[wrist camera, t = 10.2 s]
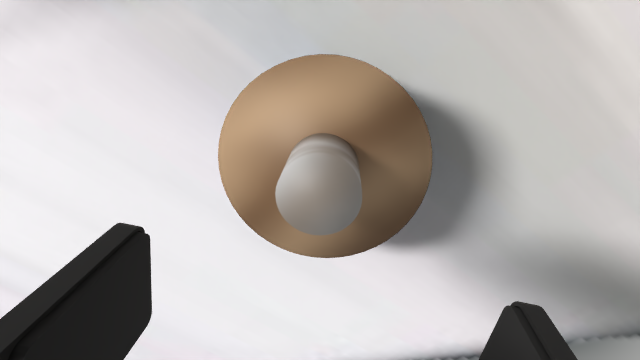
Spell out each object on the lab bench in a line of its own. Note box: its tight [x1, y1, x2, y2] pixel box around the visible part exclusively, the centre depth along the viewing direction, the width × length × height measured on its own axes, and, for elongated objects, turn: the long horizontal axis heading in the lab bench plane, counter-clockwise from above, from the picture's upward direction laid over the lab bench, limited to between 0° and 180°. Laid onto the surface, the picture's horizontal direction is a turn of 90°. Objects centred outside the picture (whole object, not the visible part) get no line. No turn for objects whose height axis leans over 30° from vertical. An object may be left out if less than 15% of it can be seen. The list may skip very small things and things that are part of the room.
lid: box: [218, 54, 432, 258], centre depth 19 cm, size 12×12×5 cm
